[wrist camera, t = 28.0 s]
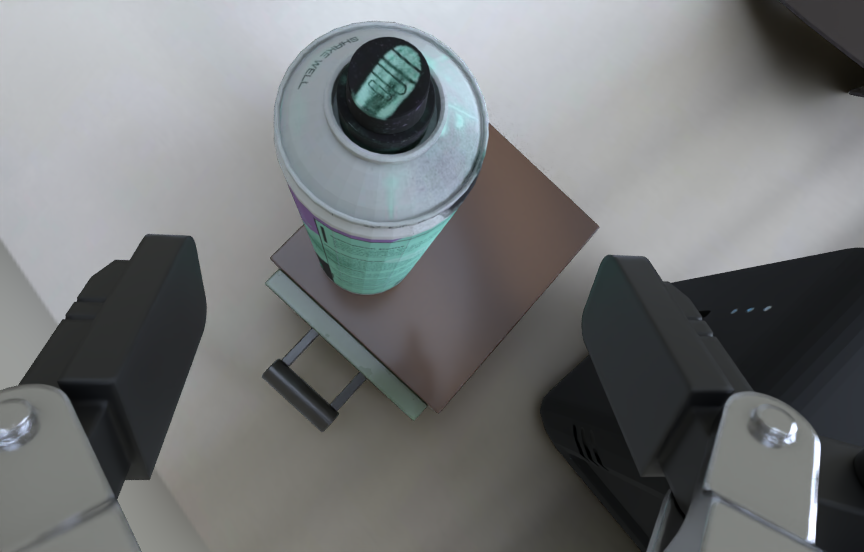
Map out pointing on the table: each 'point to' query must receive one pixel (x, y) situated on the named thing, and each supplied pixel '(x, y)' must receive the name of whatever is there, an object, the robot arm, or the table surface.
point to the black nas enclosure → (752, 354)
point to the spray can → (378, 147)
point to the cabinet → (458, 277)
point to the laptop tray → (835, 25)
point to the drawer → (346, 345)
